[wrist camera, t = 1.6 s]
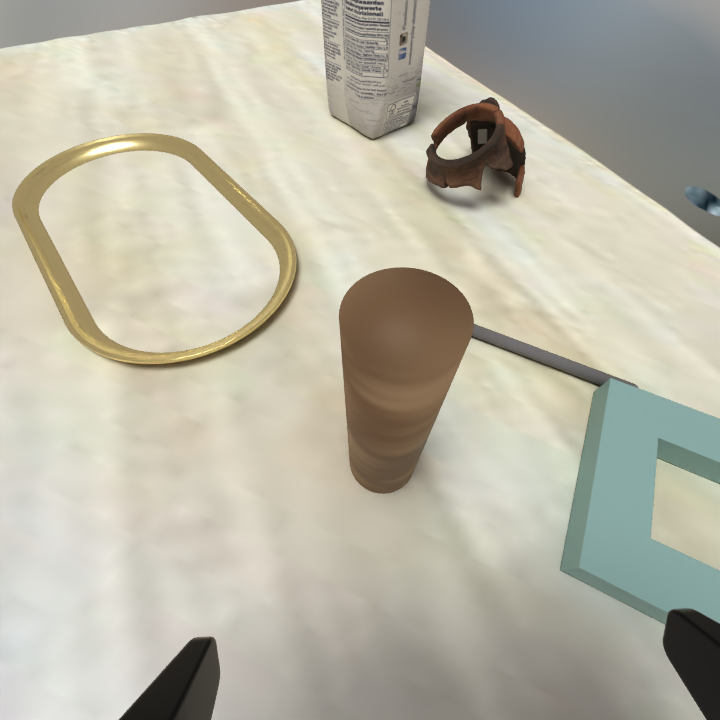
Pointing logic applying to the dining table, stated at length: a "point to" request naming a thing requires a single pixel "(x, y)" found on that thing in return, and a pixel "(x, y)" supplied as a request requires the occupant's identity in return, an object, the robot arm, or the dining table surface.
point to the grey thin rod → (544, 356)
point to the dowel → (398, 367)
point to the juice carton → (374, 61)
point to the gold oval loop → (60, 278)
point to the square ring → (639, 502)
